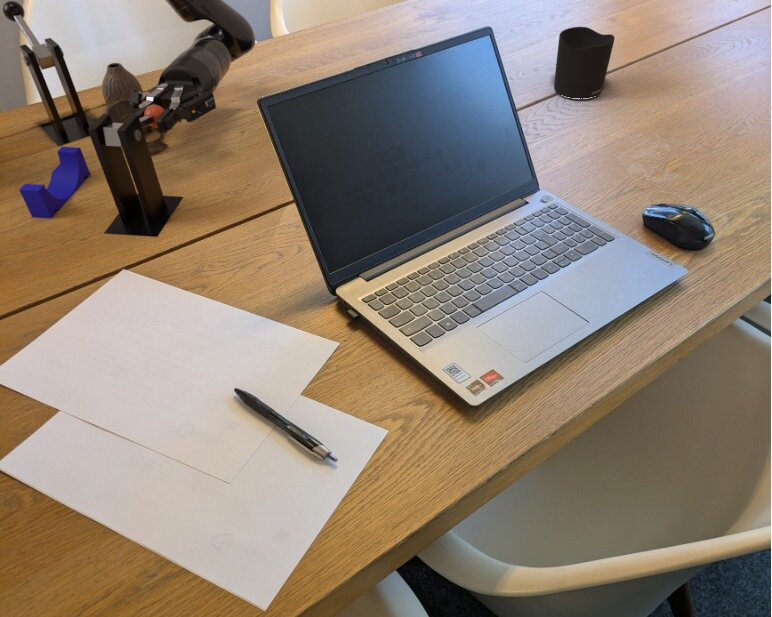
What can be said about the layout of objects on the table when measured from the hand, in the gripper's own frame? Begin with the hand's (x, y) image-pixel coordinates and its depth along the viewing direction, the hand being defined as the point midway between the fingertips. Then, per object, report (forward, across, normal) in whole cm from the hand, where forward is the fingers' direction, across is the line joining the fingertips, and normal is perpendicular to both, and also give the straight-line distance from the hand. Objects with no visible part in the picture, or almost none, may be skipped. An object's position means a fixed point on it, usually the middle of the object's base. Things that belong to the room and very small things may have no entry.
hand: (148, 126), depth 94 cm
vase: (-26, -18, +10) cm, 33 cm away
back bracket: (-16, -24, +10) cm, 31 cm away
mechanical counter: (-13, -11, +11) cm, 20 cm away
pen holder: (-41, +64, +11) cm, 77 cm away
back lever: (-20, -28, -5) cm, 35 cm away
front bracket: (+8, 0, +11) cm, 14 cm away
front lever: (+3, 0, 0) cm, 3 cm away
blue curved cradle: (+4, -16, +11) cm, 20 cm away
